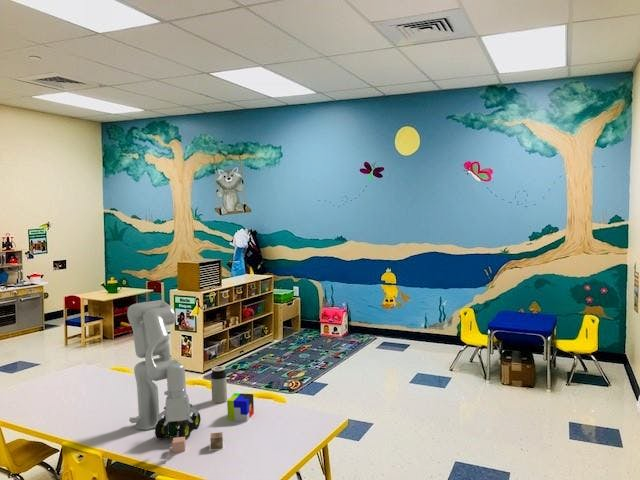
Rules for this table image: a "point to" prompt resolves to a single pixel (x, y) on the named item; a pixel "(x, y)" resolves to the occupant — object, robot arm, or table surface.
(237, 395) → the puzzle toy
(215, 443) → the walnut block
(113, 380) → the table surface
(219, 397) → the travel mug
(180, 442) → the terracotta block
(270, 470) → the table surface
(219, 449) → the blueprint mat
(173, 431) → the toy tractor
